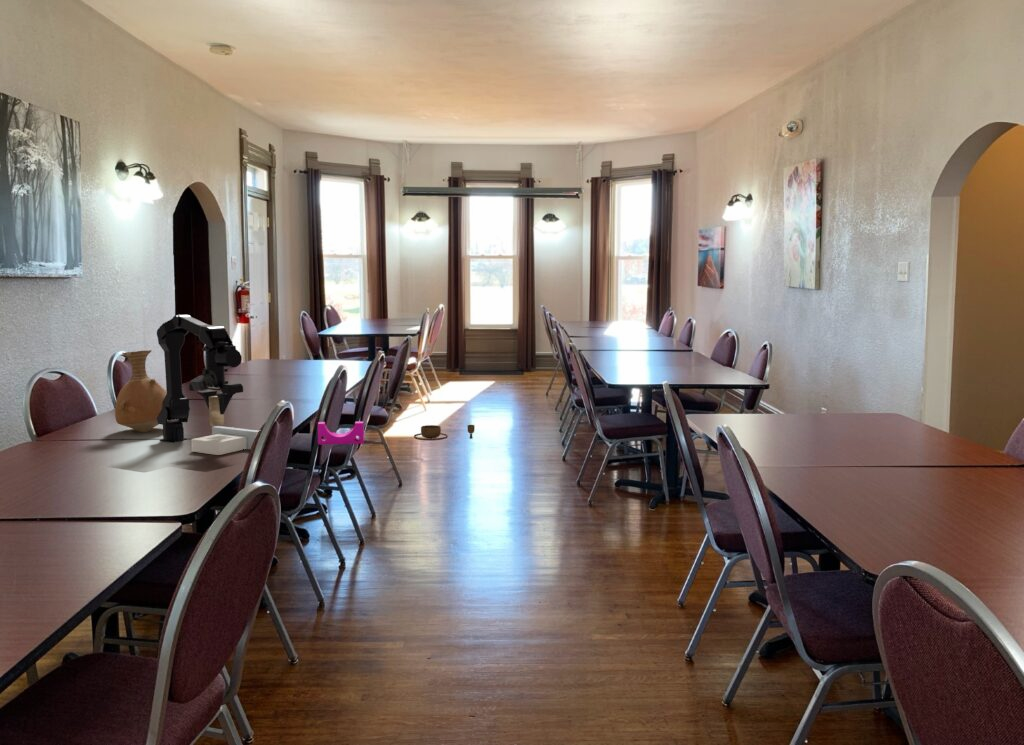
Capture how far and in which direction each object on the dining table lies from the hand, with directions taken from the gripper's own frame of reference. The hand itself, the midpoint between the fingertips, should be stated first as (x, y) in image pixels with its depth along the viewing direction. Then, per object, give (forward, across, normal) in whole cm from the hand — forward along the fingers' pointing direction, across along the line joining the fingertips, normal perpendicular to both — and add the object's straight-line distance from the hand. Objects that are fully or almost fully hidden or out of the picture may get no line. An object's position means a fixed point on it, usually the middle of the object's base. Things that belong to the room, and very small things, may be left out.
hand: (216, 413), depth 281 cm
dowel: (+4, 0, 0) cm, 4 cm away
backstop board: (+12, 0, +8) cm, 15 cm away
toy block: (+13, +26, +31) cm, 42 cm away
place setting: (+13, +51, +52) cm, 74 cm away
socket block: (+12, 0, 0) cm, 12 cm away
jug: (+12, -48, +10) cm, 50 cm away
